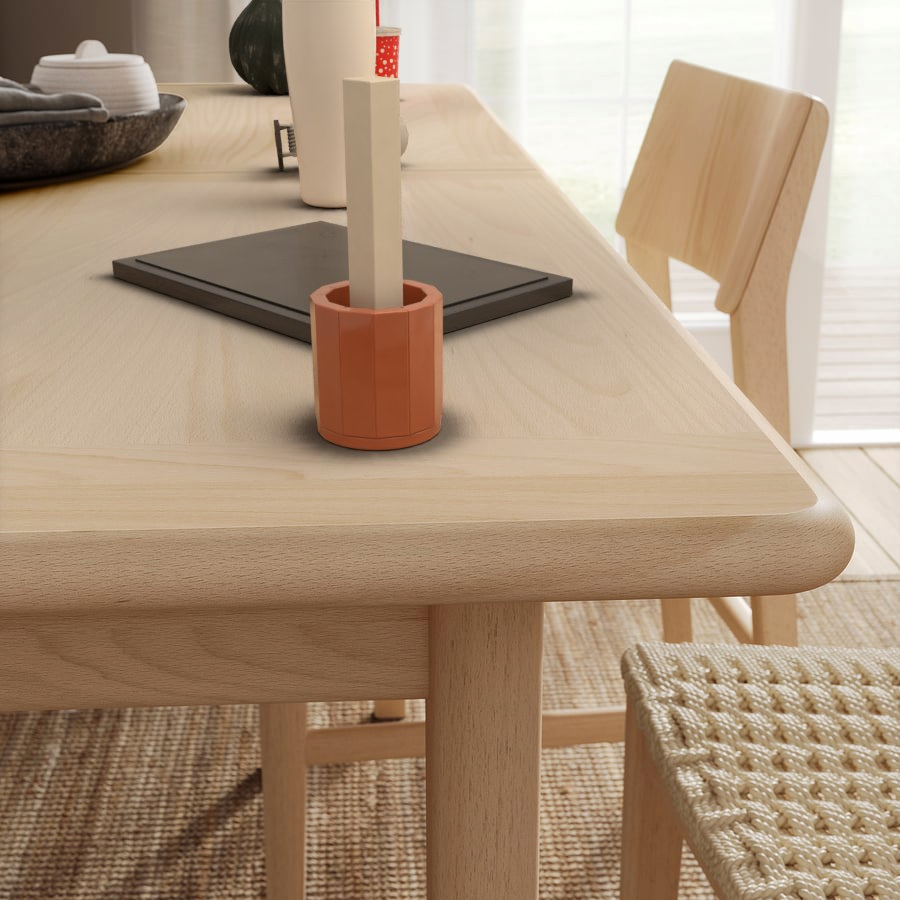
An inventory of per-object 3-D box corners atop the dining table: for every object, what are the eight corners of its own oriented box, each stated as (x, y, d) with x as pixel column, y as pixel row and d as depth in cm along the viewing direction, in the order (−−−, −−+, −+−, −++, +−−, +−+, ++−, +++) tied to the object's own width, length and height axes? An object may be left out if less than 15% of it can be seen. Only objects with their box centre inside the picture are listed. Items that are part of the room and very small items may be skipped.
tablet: (113, 276, 69) (111, 258, 69) (321, 234, 80) (321, 218, 79) (358, 359, 55) (357, 337, 55) (573, 295, 66) (573, 276, 65)
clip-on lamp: (297, 181, 115) (265, 170, 97) (290, 115, 114) (256, 91, 96) (416, 170, 115) (406, 156, 97) (409, 103, 114) (398, 77, 96)
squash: (326, 44, 172) (259, -38, 163) (371, 56, 161) (301, -32, 151) (261, 114, 172) (190, 36, 162) (302, 131, 160) (228, 47, 151)
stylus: (352, 415, 47) (341, 78, 42) (380, 405, 48) (372, 75, 43) (377, 424, 46) (369, 81, 41) (405, 415, 47) (400, 78, 42)
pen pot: (292, 426, 47) (284, 294, 45) (383, 396, 51) (380, 271, 48) (374, 461, 44) (371, 320, 42) (466, 426, 47) (467, 294, 45)
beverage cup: (349, 99, 156) (345, -15, 150) (392, 97, 158) (390, -15, 152) (366, 104, 150) (362, -13, 145) (409, 101, 153) (408, -14, 147)
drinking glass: (273, 202, 90) (262, -6, 85) (343, 191, 95) (336, -8, 89) (327, 215, 86) (318, -4, 80) (397, 203, 90) (394, -6, 84)
